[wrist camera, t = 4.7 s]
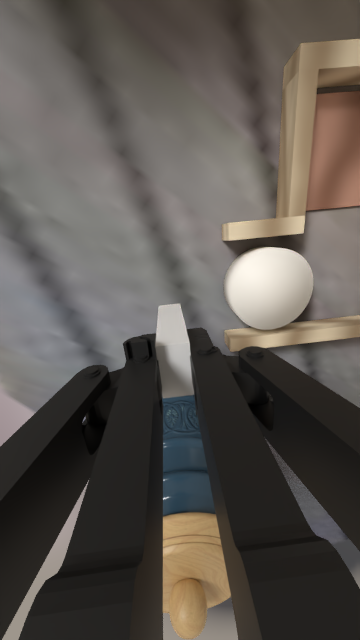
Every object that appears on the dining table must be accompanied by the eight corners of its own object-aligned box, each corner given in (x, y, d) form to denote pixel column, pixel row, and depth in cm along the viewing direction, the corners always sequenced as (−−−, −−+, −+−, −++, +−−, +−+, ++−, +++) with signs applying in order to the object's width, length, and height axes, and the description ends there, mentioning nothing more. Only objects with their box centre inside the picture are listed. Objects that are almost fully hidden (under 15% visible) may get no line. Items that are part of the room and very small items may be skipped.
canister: (115, 394, 29) (50, 609, 12) (216, 374, 29) (288, 562, 12) (141, 465, 33) (118, 692, 17) (228, 448, 33) (291, 658, 17)
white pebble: (223, 321, 26) (232, 333, 23) (221, 250, 24) (231, 252, 20) (290, 314, 27) (308, 325, 23) (297, 242, 24) (318, 243, 21)
